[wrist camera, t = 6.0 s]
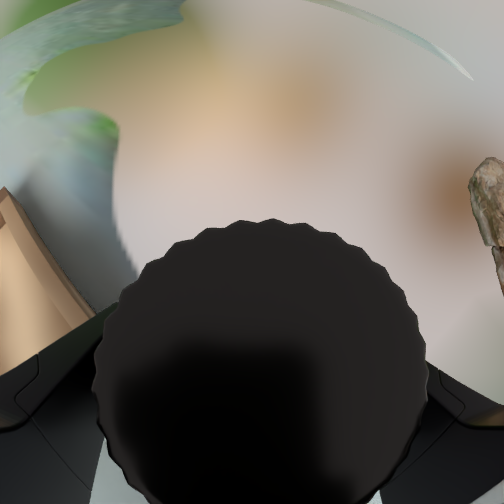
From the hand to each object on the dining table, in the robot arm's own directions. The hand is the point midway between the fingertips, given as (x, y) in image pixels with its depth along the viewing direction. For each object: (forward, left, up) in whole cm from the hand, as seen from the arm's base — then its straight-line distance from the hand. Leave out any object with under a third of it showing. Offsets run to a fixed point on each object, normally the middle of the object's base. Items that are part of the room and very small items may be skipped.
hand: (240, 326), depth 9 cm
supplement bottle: (-1, -1, -7) cm, 7 cm away
